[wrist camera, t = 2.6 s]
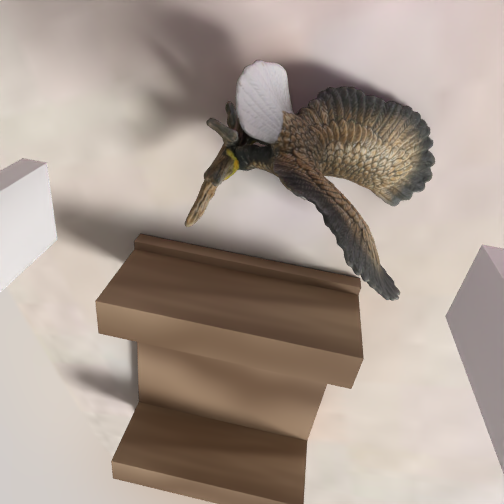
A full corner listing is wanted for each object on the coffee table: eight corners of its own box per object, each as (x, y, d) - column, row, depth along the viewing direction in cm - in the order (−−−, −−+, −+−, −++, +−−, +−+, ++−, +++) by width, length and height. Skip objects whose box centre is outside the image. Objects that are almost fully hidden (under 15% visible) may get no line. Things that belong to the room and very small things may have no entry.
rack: (140, 233, 23) (94, 292, 18) (360, 278, 22) (366, 350, 18) (143, 413, 32) (113, 482, 27) (300, 450, 31) (295, 526, 26)
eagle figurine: (209, 233, 21) (385, 303, 19) (151, 214, 14) (422, 322, 12) (265, 89, 21) (447, 147, 19) (235, -6, 14) (521, 75, 12)
